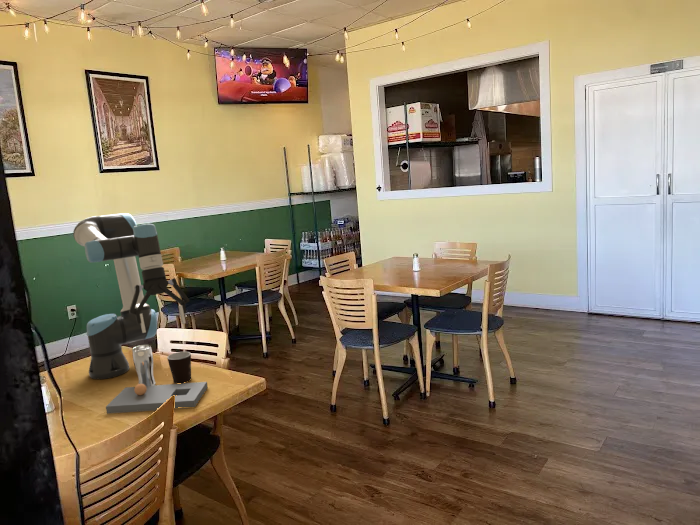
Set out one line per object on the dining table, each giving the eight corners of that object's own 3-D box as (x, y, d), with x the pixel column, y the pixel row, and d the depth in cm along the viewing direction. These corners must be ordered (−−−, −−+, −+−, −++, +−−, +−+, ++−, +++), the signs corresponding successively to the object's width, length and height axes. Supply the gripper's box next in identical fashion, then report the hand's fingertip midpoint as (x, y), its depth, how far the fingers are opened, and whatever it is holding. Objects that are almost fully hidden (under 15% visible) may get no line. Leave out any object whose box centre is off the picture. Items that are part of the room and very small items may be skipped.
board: (106, 413, 184) (105, 406, 184) (126, 393, 200) (125, 387, 200) (194, 407, 183) (194, 400, 183) (207, 388, 199) (206, 381, 199)
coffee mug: (187, 385, 204) (183, 359, 202) (166, 384, 206) (162, 359, 204) (201, 373, 215) (198, 348, 213) (181, 372, 217) (178, 348, 215)
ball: (137, 392, 193) (136, 382, 193) (149, 392, 193) (147, 381, 193) (133, 397, 190) (131, 386, 189) (144, 396, 189) (143, 386, 189)
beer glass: (160, 382, 208) (155, 345, 206) (147, 389, 202) (141, 351, 199) (147, 380, 211) (141, 343, 209) (133, 388, 205) (127, 349, 202)
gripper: (115, 273, 181) (128, 336, 181) (190, 261, 194) (202, 319, 194) (113, 275, 187) (125, 336, 187) (185, 263, 200) (196, 320, 200)
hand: (164, 328), depth 191 cm, fingers open, 13 cm apart
